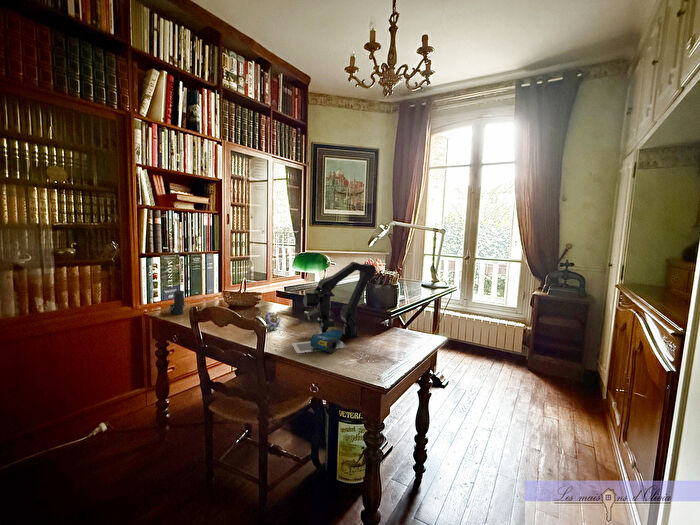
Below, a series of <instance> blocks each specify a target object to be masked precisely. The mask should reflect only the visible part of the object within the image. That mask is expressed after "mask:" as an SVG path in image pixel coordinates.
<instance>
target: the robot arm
mask: <svg viewBox="0 0 700 525" xmlns="http://www.w3.org/2000/svg"><path fill="white" fill-rule="evenodd" d="M356 271H357V272H358V273H359V279H358V281H357V283H356V285H355V288H354V290H353V292H352V294H351V296H350V299H349V301H348V303H347V304H346V305H345V304H343V305H342V308H341V309H340V311H339V312H340V314H339V315H340V318H341V320H342V321H343V322H344V323H343V324H344V325H343V327H342V335H344V336H345V337H346V338H354V337H355V338H356V337H359V334H358V326H359V325H360V323H361V322H360V320H359V319H358V318H357V314H358V313H357V312H358V309H357V308H358V305H359V303H360V301H361V298H362V296H363V294H364V292H365V290H366V287H367V285H368V283H369V281H371V280H372V279H373V278H374V276H375V274H376V272H377V268H376V266H375V265H373V264H370V263H368V262H367V263H363V264H362V263H358V262H356V261H351V262H350V263H349V264H348V265H346V266H345V267H343V268H342V269H340V270H339V271H337V272H336V273H334V274H333V275H331V276H328V277H325V278H323V279H320V280H318V281H319V282H318V283H317V286H316V287H315V289H314V290H313V292H309V291H308V292H307V291H306V292H305V293H304V296H303V297H302V298H303V299H302V300H303V306H304V307H316V309H312V310H310V311H309V312H307V313H306V315H307V318H308V320H309V321H310V322H313V321H315V320H316V322H317V323H318V324H319V327H320V334H321V333H323V332H326V331H328V329H329V328H335V327H336V321H335V320H334V319H332V316H331V313H330V312H331V311H332V307H331V297H335V296H336V295H335V294H334V292H333V290H334V289H335V288H336V286H337V285H338V284H339V283H340V282H341V281H343V280H344V279H346V278H347V277H349V276H350V275H351V274H354V273H355V272H356Z"/></svg>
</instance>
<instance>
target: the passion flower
mask: <svg viewBox="0 0 700 525" xmlns="http://www.w3.org/2000/svg"><path fill="white" fill-rule="evenodd" d="M261 318H262V319H263V320H264V321H265V322H266V324H267V327H266V328H269V330H270V331H272V330H273V331H274V332H276V331H277V327H278V328H280V327H281V321H282V318H280V315H279V314H277V313H275V311H272V312H270V311H269V310H266V314H265V315H261V316H260V319H261Z"/></svg>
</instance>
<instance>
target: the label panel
mask: <svg viewBox="0 0 700 525" xmlns="http://www.w3.org/2000/svg"><path fill="white" fill-rule="evenodd" d="M340 339H341V338H340ZM340 339H337V340H336V341H337V346H336V349H346V348H348V346H347V345H346V344H345V343H344V341H342V340H340ZM310 342H311V340H309V341H301V342H292V343H291V346H292V347H294V348H293V349H294V351H295V353H296V354H297V353H298V354H304V353H305V352H306V353H311V352H313V351H314V352H320V351H323V350H321V349H318V348H316V347H312V346H311V344H310ZM336 349H335V350H336Z"/></svg>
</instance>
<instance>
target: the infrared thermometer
mask: <svg viewBox="0 0 700 525" xmlns="http://www.w3.org/2000/svg"><path fill="white" fill-rule="evenodd" d="M342 335H343V331H342V330H340V329H330V330H327V331H326V332H323V333H321V332H320V333H318V334H317V333H314V334H312V335H311V337H310V341H311V342H310V344H311V346H312V347H316V348H318V349H321V350H322V351H324V352H327V353H330V354H332V353H334V352H335V351H336V346H337V341H336V340H337V339H342Z"/></svg>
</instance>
